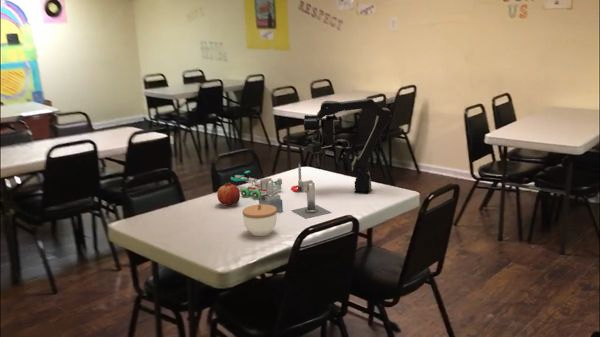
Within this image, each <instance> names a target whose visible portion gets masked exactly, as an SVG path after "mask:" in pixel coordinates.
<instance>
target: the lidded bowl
mask: <svg viewBox="0 0 600 337" xmlns="http://www.w3.org/2000/svg"><path fill="white" fill-rule="evenodd" d="M241 213H242V218H243V224H244V227H245V228H246V230H247V231H248V232H250V234H251V235H252V236H255V237H264V236H268V235H270V234H271V233H272V231H274V229H275V227H276V225H277V216H278V215H277V208H276V207H274V206H272V205H265V204H259V203H258V204H253V205H250V206H245V207H244V208H243V209H242V212H241Z"/></svg>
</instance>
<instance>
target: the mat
mask: <svg viewBox="0 0 600 337" xmlns="http://www.w3.org/2000/svg"><path fill="white" fill-rule="evenodd" d="M306 208H307V206H305V207H300V208H295V209H292V210H290V211H291V212H293V213H295V214H296V215H298V214H299V215H298V216H300V217H302V218H304V219H309V218H315V217H321V216H323V215H328V214H332V212H331V211H330V210H328V209H327V208H326V209H325V208H324V207H321V206H320V205H318V204H315V208H318V212H316V213H306V212H305V209H306Z"/></svg>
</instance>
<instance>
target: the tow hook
mask: <svg viewBox="0 0 600 337" xmlns="http://www.w3.org/2000/svg"><path fill="white" fill-rule="evenodd" d="M297 170H298V181H297V183H298V184H297V185H293V186H291V187H290V190H291V191H292V192H293V193H304V192H303V191H302V182H303V181H302V168H301V163H298V169H297ZM297 187H298V188H297ZM306 187H307V185H306Z"/></svg>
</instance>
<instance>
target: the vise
mask: <svg viewBox="0 0 600 337" xmlns="http://www.w3.org/2000/svg"><path fill="white" fill-rule="evenodd" d="M273 182H274V180H273V179H272V178H271V177H268V178H263V179H262V178H261V179H260V181H259V183H261V189H265V183H266V193H262V194H260V197H259V199H258V204H265V205H272V206H274V207H276V208H277V213H283V212H284V205H283V199H281V195H280V194H279V193H276V192H274V186H273Z"/></svg>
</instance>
